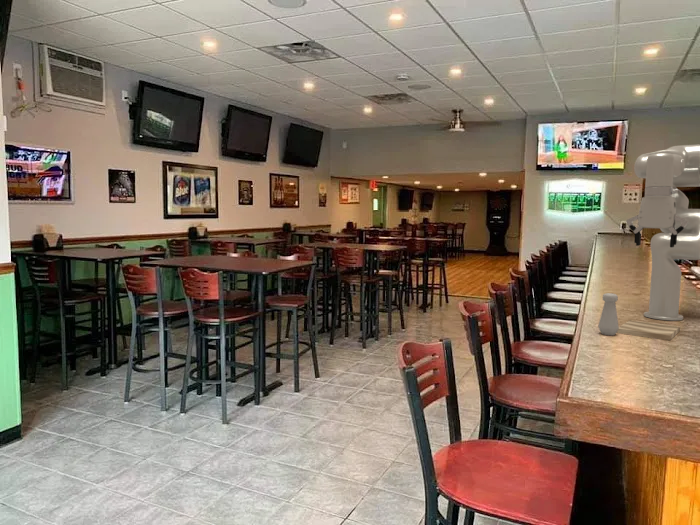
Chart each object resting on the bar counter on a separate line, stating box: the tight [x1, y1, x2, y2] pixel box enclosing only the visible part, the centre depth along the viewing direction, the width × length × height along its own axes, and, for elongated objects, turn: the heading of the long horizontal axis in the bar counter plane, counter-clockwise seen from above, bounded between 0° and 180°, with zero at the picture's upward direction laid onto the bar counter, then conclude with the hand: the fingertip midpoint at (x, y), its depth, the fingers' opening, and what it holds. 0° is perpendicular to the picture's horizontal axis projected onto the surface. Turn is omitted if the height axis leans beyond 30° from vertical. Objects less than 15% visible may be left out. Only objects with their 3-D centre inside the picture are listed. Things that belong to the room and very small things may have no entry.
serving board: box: [616, 319, 681, 341], centre depth 172 cm, size 18×15×2 cm
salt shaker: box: [598, 292, 620, 336], centre depth 167 cm, size 6×6×13 cm
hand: (654, 246), depth 170 cm, fingers open, 9 cm apart
